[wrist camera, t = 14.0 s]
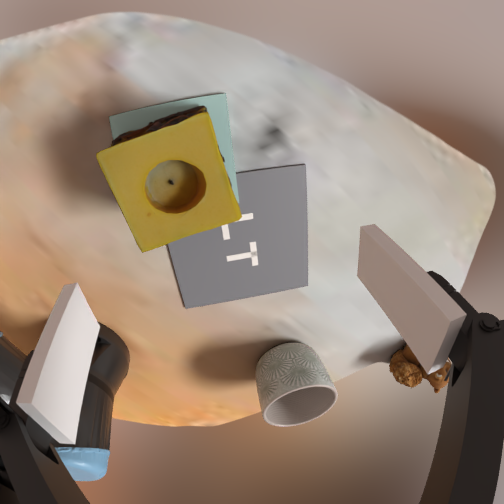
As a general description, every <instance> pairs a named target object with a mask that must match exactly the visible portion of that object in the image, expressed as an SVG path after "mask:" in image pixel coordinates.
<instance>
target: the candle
mask: <svg viewBox="0 0 504 504" xmlns="http://www.w3.org/2000/svg"><path fill="white" fill-rule="evenodd" d="M96 158H97V160H98V163H99V165H100V167H101V169H102V171H103V173H104V175H105V178H106V180H107V182H108V184H109V186H110V188H111V190H112V192H113V194H114V196H115V198H116V200H117V203H118V205H119V207H120V209H121V211H122V213H123V215H124V217H125V219H126V221H127V223H128V226H129V228H130V230H131V232H132V234H133V236H134V238H135V240H136V243H137V245H138V246H139V248H140V250H141V251H142V253H143V252H146V251H149V250H152V249H155V248H158V247H161V246H163V245H166V244H169V243H171V242H174V241H176V240H179V239H182V238H184V237H187V236H190V235H193V234H196V233H200V232H203V231H207V230H211V229H214V228H216V227H219V226H223V225H226V224H229V223H232V222H235V221H239V220H240V218H241V217H242V215H241V211H240V207H239V205H238V202H237V200H236V197H235V195H234V192H233V190H232V184H231V182H230V178H229V176H228V174H227V171H226V169H225V165H224V163H223V162H225V159H224V157H223V156H222V154H221V152H220V150H219V146H218V143H217V139H216V135H215V131H214V128H213V124H212V121H211V118H210V116H209V113H208V111H207V108H206V107H205V106H204V105H203V106H197V107H194V108H191V109H188V110H185V111H182V112H177V113H175V114H171V115H169V116H166V117H163V118H160V119H157V120H155V121H154V122H149V124H148V125H147V126H145V127H143V128H141V129H137V130H131V131H128V132H125V133H123V134H120V135H119V136H118V137H117V138H115V139H114V140H113V141H112V144H111V147H110V148H107V149H105V150H102V151H100V152H98V153H96Z"/></svg>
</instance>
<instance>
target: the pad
mask: <svg viewBox="0 0 504 504" xmlns="http://www.w3.org/2000/svg"><path fill="white" fill-rule="evenodd" d="M203 105H204V106H205V107H206V108H207V111H208V113H209V116H210V118H211V121H212V124H213V128H214V131H215V135H216V139H217V143H218V146H219V150H220V152H221V154H222V156H223V157H224V159H225V162H223V163H224V165H225V169H226V171H227V174H228V176H229V178H230V182H231V184H232V190H233V192H234V195H235V197H236V200H237V202H238V203H239V196H238V188H237V180H236V172H235V164H234V156H233V147H232V139H231V131H230V123H229V114H228V106H227V98H226V93H224V94H217V95H209V96H203V97H196V98H190V99H185V100H179V101H174V102H169V103H164V104H159V105H154V106H150V107H145V108H141V109H136V110H132V111H128V112H124V113H120V114H117V115H113V116H109V120H110V125H111V131H112V136H113V140H114V139H115V138H117V137H118V136H119V135H120V134H123V133H125V132H128V131H131V130H137V129H141V128H143V127H145V126H147V125H148V124H149V122H154V121H155V120H157V119H160V118H163V117H166V116H169V115H171V114H175V113H177V112H182V111H185V110H188V109H191V108H194V107H197V106H203Z"/></svg>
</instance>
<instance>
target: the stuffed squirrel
mask: <svg viewBox="0 0 504 504" xmlns="http://www.w3.org/2000/svg"><path fill="white" fill-rule="evenodd" d="M447 359H448V360H449V357H448V358H447ZM449 362H450V360H449ZM449 362H446V363H445V365H444V367H443V368H441V369H439V370H437V371H435V372H432V373H430V374H427V373H426V371H425V370H424V368H423V367H422V365H421V364H420V362H419V361H418V359H417V358H416V356H415V355H414V353H413V352H412V350H411V349H410V347H409V346H408V345H407V344H406V346H405V347H404V350H402V349H400V350H398V351H397V352H396V353H394V355H393V356H392V359H391V362H390V365H389V367H390V372H392V373H393V376H394V377H395V379H396V381H397V382H399V383H400V384H404V385H406V386H408V387H414V386H416V385H418V384H420V383H421V381H422V378H424V379H427V380H428V381H429V382H430V384H431V385H432V386H433V387H434V391H435V393H438V392H439V391H440V388H443V387H444V386H445V385H446V384H447V383H448V382H449V377H448V379H447V381H444V379H445V376H446V375H447V373H448V371H449V369H450V367H451V362H450V363H449Z"/></svg>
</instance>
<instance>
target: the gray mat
mask: <svg viewBox="0 0 504 504" xmlns="http://www.w3.org/2000/svg"><path fill="white" fill-rule="evenodd" d="M236 180H237V188H238V196H239V203H238V205H239V207H240V211H241V215H242V217H241V218H240V220H239V221H235V222H232V223H229V224H226V225H223V226H219V227H216V228H214V229H211V230H207V231H203V232H200V233H196V234H193V235H190V236H187V237H184V238H182V239H179V240H176V241H174V242H171V243H169V244H168V247H169V250H170V254H171V258H172V262H173V265H174V269H175V273H176V276H177V280H178V283H179V287H180V290H181V294H182V297H183V301H184V304H185V307H186V309H187V308H193V307H199V306H205V305H211V304H216V303H222V302H228V301H233V300H238V299H244V298H249V297H254V296H260V295H265V294H270V293H275V292H280V291H285V290H290V289H295V288H300V287H304V286H308V221H307V185H306V165H305V164H303V165H294V166H286V167H278V168H270V169H262V170H255V171H248V172H241V173H236Z"/></svg>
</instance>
